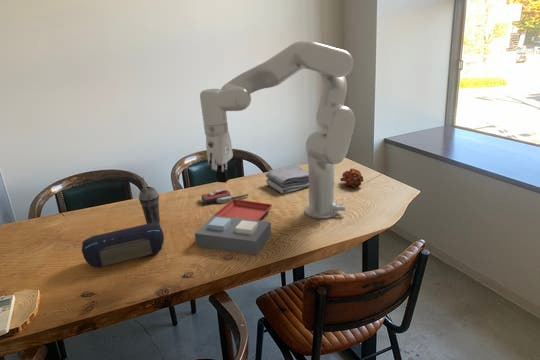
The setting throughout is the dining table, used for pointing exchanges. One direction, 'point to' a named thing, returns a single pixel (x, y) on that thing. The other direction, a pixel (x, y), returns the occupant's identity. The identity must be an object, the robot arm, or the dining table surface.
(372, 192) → the dining table surface
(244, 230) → the white key
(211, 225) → the blue key
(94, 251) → the portable speaker
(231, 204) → the plant saucer
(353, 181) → the pine cone
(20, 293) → the dining table surface
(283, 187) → the towel
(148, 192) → the beverage cup
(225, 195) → the walkie-talkie
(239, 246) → the console
